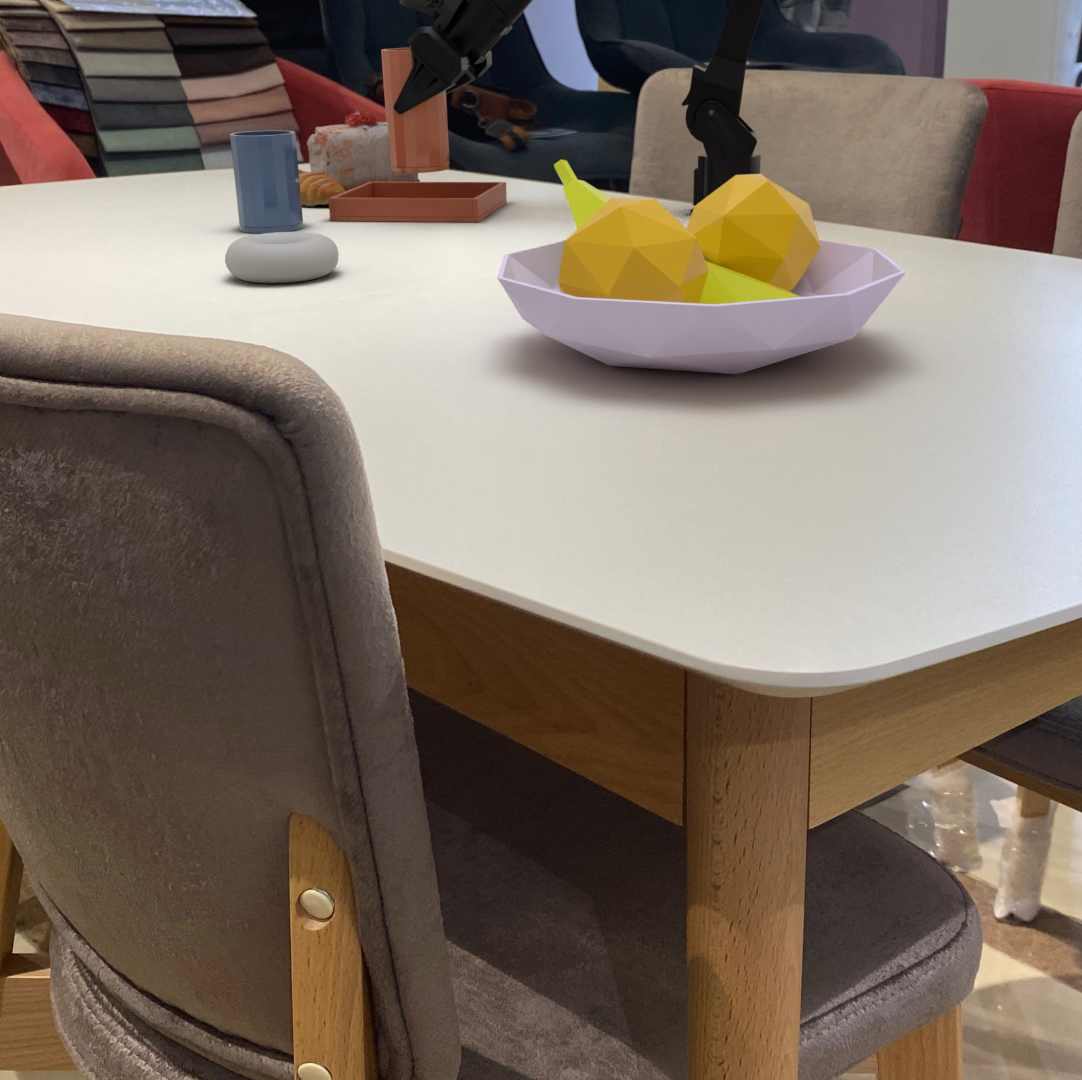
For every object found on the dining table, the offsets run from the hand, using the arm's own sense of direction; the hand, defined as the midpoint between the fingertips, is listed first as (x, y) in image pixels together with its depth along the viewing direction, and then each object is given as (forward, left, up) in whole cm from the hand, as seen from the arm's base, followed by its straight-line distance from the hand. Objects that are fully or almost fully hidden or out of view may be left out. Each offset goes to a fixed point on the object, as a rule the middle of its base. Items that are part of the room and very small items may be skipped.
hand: (404, 109), depth 147 cm
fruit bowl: (-56, +45, -12) cm, 73 cm away
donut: (-13, +37, -12) cm, 41 cm away
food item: (+18, -15, -12) cm, 26 cm away
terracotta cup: (-1, -1, -7) cm, 7 cm away
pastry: (+16, -2, -12) cm, 20 cm away
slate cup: (+7, +16, -11) cm, 21 cm away
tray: (-1, -1, -11) cm, 12 cm away
